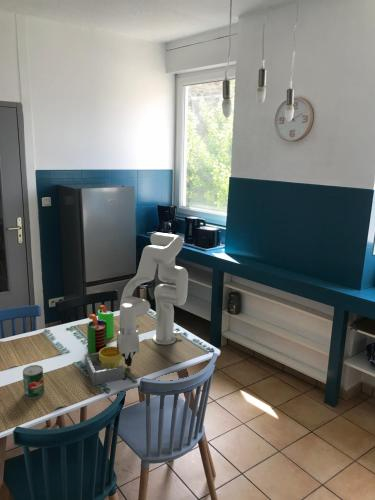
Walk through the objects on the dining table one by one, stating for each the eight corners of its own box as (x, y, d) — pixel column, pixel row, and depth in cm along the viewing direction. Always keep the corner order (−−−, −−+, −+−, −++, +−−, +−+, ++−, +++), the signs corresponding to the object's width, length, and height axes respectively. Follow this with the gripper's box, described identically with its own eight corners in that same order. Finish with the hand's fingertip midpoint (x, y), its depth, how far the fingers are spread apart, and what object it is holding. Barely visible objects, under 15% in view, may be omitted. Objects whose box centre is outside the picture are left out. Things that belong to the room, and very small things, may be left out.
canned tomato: (32, 386, 174) (30, 363, 172) (48, 389, 172) (46, 366, 170) (20, 396, 167) (18, 373, 164) (36, 400, 165) (34, 376, 162)
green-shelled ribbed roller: (117, 334, 225) (116, 304, 220) (107, 340, 218) (106, 309, 214) (105, 330, 229) (104, 300, 225) (94, 335, 223) (93, 305, 218)
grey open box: (113, 360, 197) (113, 349, 196) (123, 378, 182) (123, 366, 181) (85, 366, 192) (85, 354, 190) (93, 385, 177) (93, 373, 175)
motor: (101, 358, 199) (100, 320, 194) (84, 355, 201) (82, 318, 196) (109, 348, 209) (108, 312, 204) (92, 346, 211) (91, 310, 206)
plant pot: (120, 376, 184) (120, 356, 182) (97, 376, 183) (97, 357, 181) (122, 364, 194) (122, 345, 192) (100, 364, 193) (100, 346, 191)
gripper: (140, 323, 193) (140, 358, 198) (110, 328, 187) (110, 364, 192) (146, 329, 187) (145, 365, 191) (114, 335, 181) (115, 372, 185)
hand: (128, 364), depth 192 cm, fingers closed
